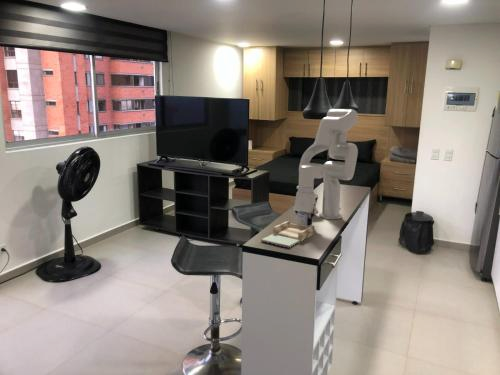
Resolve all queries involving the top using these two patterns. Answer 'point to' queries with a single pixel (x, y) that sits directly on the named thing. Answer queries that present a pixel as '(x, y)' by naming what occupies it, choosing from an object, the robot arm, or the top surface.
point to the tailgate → (280, 240)
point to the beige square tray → (293, 230)
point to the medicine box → (303, 219)
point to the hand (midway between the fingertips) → (304, 223)
